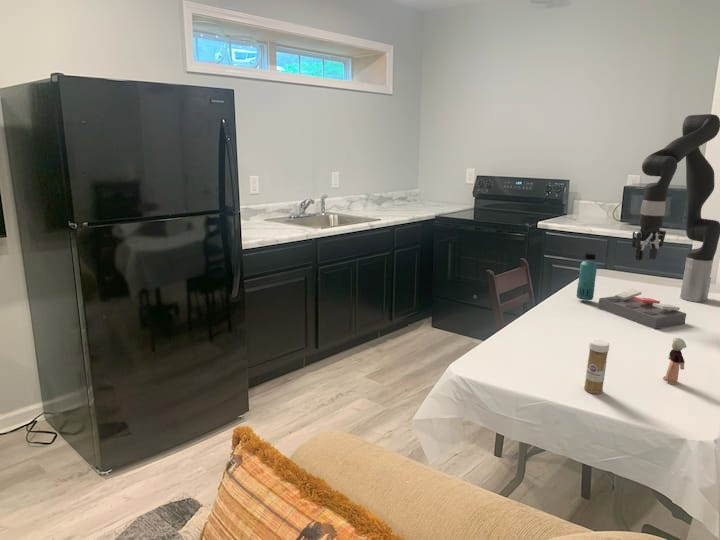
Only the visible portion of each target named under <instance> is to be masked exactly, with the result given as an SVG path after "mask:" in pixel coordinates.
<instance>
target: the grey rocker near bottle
mask: <svg viewBox="0 0 720 540" xmlns="http://www.w3.org/2000/svg"><path fill="white" fill-rule="evenodd" d="M640 295H642V291H639V290H637V289H633V288H632V289H630V290H627V291H623V292H620V293H618V294H615V295H614V296H615V298H618V299H621V300H627V299H633V298H634V297H639V296H640Z"/></svg>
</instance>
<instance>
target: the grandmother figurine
mask: <svg viewBox="0 0 720 540" xmlns="http://www.w3.org/2000/svg"><path fill="white" fill-rule="evenodd" d="M687 347H688V346H687V343H686V342H685V340H684V339H682V338H681V337H673V339H672V344H671V348H672V349H671V350H670V351H669V354H668V355H669V356H668V360H669V361H670V362H669V364H668V367H667V369H666V372H665V376H663V377H662V378H663V380H665V381H667V383H668V384H669V385H671V384H672V385H671V386H677V385H679V384H680V382H679V381H678V379H679V373H680V370H685V363H686V361H685V359H684V356H683V353H682V350H683V349H686V348H687Z"/></svg>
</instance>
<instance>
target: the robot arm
mask: <svg viewBox="0 0 720 540" xmlns="http://www.w3.org/2000/svg"><path fill="white" fill-rule="evenodd" d="M681 131H682V136H680V137H677V138H675V139H673V140H672V141H671V142H669V143H668V144H667V145H666V146H665V147H664V148H662V149H659V150H657V151H655V152H653V153H651V154H649V155H648V156H647V157H645V159H644V160H643V162H642V164H641V170H642V173H643V174H644V175H645V176H650V177H660V178H659V180H658V181H656V182H652V183H651V182H650V183H647V184H646V185H645V186H644V187H645V188H644V193H643V200H642V203H641V206H640V207H641V208H640V214H639V220H638V221H639V222H638V225H639V226H640V229H639V231H633V232H632V239H631V240H632V241H631V242H632V243H631V247H632V249H633V248H634V249H635V260H636V261H642V260H643V258H644V249H645V248H646V246H647V245H648V244H649V245H650V249H649V254H648V258H649V259H650V260H656V258H657V254H658V249H659V248H662V247H663V246H664V241H665V237H666V233H667V231H666V230H663V229H661V228H663V226H664V219H665V213H666V201H667V195H668V189H669V187H670V184H671V183H672V179H673V177H674V176H675V174H676V172H677V169H678V164H679V163H680V162H681V161H682V160H683V159H685V169H686V172H685V174H686V176H685V177H686V179H685V181H686V183H685V185H686V197H687V199H686V200H687V205H686V206H687V208H686V209H687V210H686V226H685V227H686V228H685V232H686V237H687V238H688V239H689V240H691V241H695V242H701V243H702V245H701V246H700V247H698V248H693V249H689V250H688V251H687V253H686V259H685V267H684V272H683V278H682V284H681V289H680V296H679V297H680V298H681V299H682V300H684V301H690V302H694V303H695V302H696V303H697V302H698V303H705V302H706V301H707V300H708V296H709V293H710V292H709V291H710V286H711V281H712V277H711V274H712V269H713V265H714V264H713V263H714V257H715V254H716V252H717V248H718V245H719V240H720V221H718V220H715V219H708V218H702V208H703V206H704V204H705V203H706V202H707V200H708V199H709V197H710V196H711V195H712V193H713V192H714V189H715V170H714V169H713V167H712V165H711V164H710V162H709V161H708V160H707V158H706V157H705V156H704V154H703V153H702V151H701V150H700V147H701V146H703V145H705V144H706V143H708V142H709V141H711V140H713V139H714V138H716V136H717V135H718V134H719V132H720V117H719V115H717V114H712V113H710V114H709V113H708V114H691V115H688V116H686V117H685V118H684V120H683V122H682V130H681Z"/></svg>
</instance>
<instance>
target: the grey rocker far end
mask: <svg viewBox="0 0 720 540" xmlns="http://www.w3.org/2000/svg"><path fill="white" fill-rule="evenodd" d="M652 306H655V307H658V308H661V309H664V310H667V311H671V310H677V311H680V309H681V307H679V306H675V305H672V304H668V303H667V304H666V303H659V304H658V303H653V305H652Z"/></svg>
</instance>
